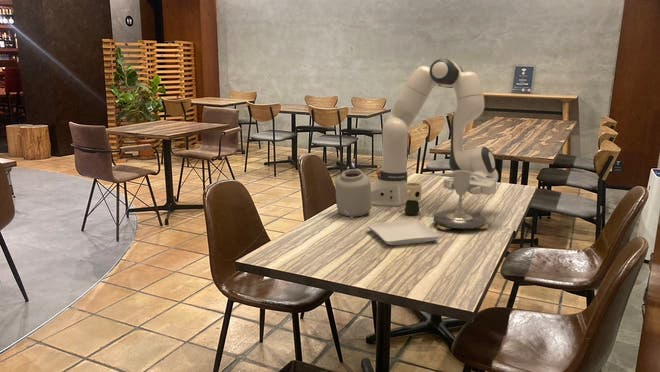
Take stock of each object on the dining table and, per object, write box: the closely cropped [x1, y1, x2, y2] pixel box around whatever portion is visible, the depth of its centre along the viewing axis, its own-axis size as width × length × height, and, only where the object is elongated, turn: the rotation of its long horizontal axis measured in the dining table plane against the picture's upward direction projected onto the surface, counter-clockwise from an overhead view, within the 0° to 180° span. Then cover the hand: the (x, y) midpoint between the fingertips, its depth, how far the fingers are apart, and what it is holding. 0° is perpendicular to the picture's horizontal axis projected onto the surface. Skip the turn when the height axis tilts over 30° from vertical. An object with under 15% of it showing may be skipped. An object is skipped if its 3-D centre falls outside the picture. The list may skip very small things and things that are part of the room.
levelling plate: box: [433, 209, 489, 231], centre depth 219 cm, size 20×21×4 cm
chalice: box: [452, 170, 473, 218], centre depth 216 cm, size 7×7×18 cm
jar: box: [334, 162, 373, 218], centre depth 231 cm, size 19×15×25 cm
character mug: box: [404, 182, 422, 216], centre depth 234 cm, size 11×7×13 cm, turn 149°
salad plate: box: [366, 219, 441, 246], centre depth 205 cm, size 21×21×3 cm
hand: (460, 189), depth 215 cm, fingers open, 8 cm apart
